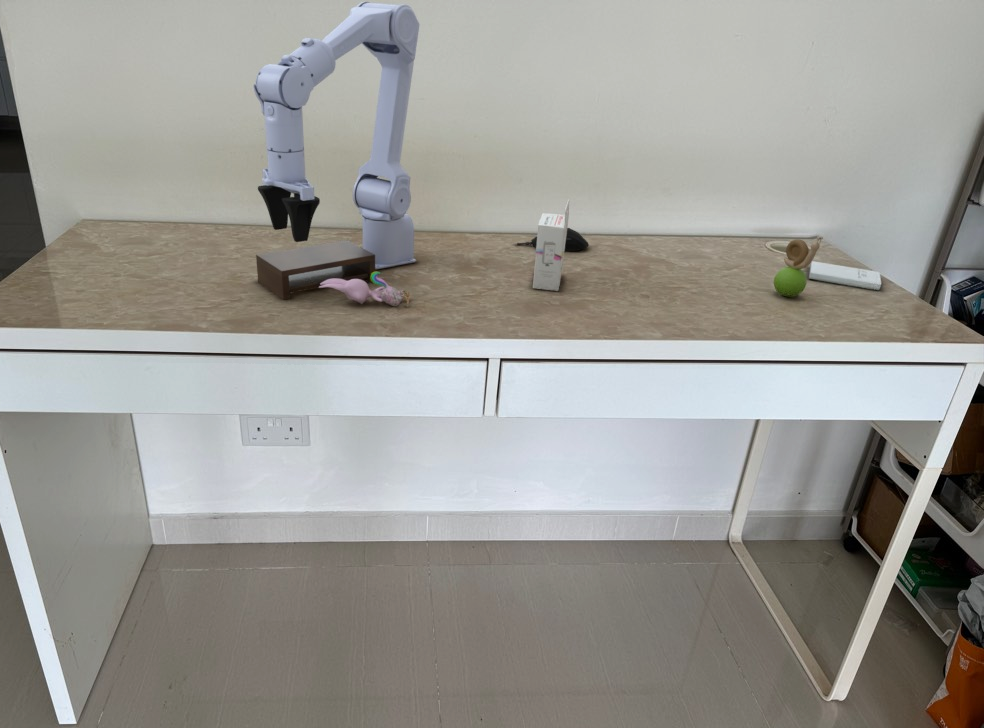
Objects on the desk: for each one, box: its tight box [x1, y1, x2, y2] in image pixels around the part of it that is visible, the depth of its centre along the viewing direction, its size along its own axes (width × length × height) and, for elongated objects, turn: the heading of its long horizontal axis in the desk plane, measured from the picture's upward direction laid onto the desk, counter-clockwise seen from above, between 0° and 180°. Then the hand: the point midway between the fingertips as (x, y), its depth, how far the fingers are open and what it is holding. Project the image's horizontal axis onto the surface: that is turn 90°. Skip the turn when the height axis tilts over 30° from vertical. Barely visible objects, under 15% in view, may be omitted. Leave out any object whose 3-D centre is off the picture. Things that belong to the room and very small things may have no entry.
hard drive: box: [808, 260, 882, 291], centre depth 150 cm, size 2×8×12 cm
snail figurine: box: [773, 236, 824, 298], centre depth 137 cm, size 5×6×12 cm
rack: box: [255, 239, 376, 301], centre depth 135 cm, size 18×10×5 cm, turn 126°
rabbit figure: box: [318, 270, 411, 308], centre depth 127 cm, size 6×6×15 cm
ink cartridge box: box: [532, 198, 570, 292], centre depth 138 cm, size 9×5×15 cm, turn 168°
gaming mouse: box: [516, 227, 590, 252], centre depth 160 cm, size 6×15×4 cm, turn 89°
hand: (290, 234), depth 126 cm, fingers open, 7 cm apart
